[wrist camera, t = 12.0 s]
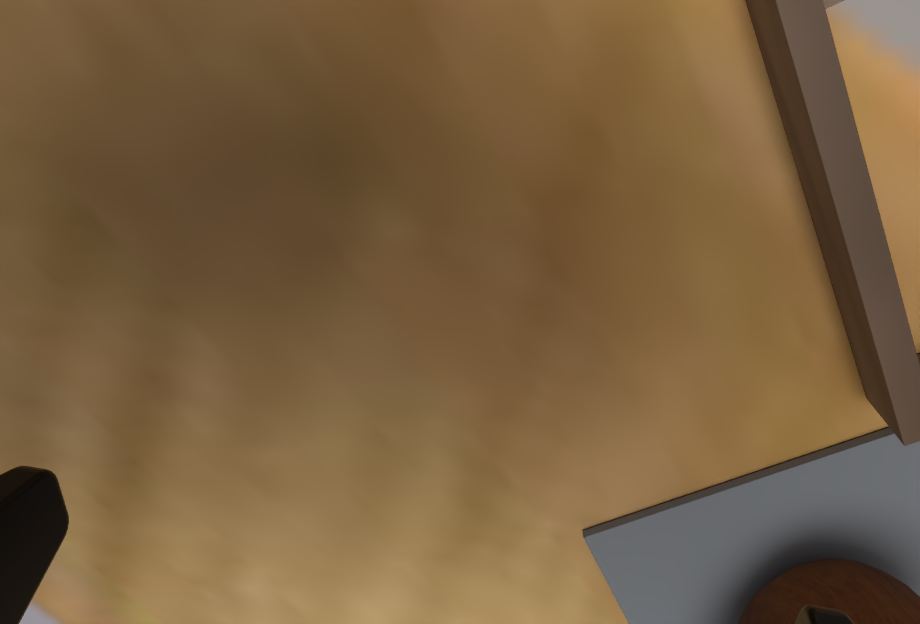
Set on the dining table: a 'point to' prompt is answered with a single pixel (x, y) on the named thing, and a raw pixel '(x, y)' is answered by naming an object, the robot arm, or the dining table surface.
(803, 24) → the walnut holder frame
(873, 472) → the charcoal mat
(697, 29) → the dining table surface
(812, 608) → the robot arm
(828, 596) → the wooden figurine
